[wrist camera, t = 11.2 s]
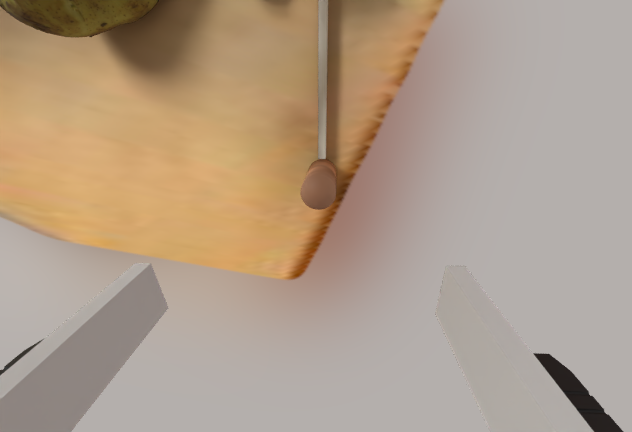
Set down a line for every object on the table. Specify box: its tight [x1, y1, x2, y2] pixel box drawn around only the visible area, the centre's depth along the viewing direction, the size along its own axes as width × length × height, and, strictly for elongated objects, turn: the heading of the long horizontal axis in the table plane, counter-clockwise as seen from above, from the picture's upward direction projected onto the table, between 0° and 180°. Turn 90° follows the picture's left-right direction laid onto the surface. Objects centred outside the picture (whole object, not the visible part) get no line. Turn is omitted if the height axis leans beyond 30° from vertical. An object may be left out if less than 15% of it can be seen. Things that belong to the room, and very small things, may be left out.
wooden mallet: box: [301, 0, 336, 209], centre depth 21 cm, size 5×25×7 cm, turn 0°
